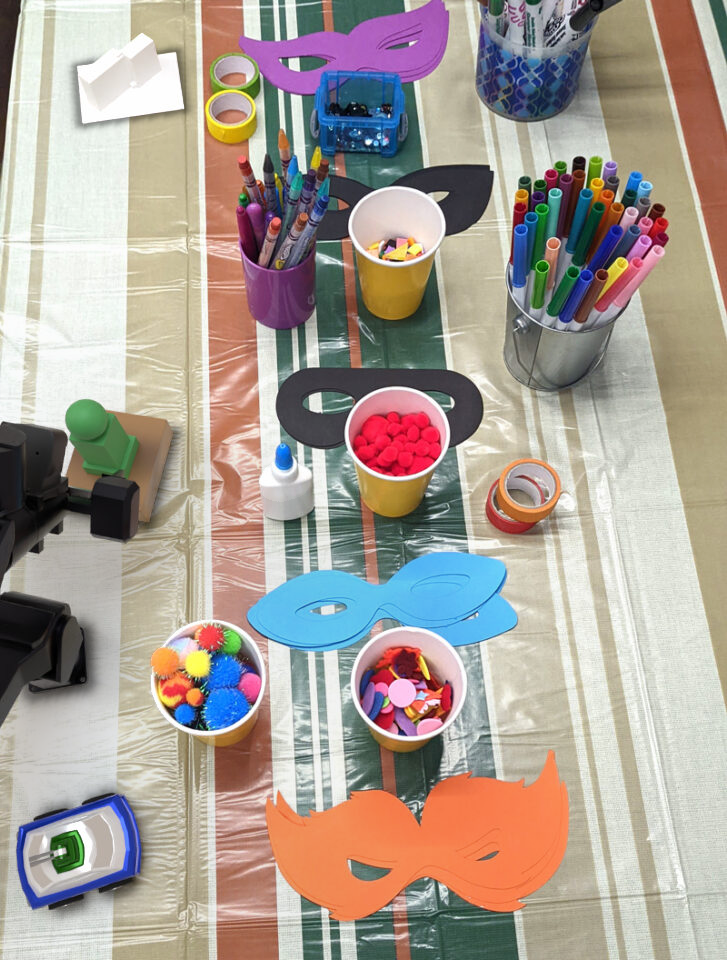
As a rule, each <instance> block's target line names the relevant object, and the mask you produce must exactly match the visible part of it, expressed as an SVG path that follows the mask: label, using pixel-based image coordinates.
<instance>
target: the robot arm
mask: <svg viewBox="0 0 727 960" xmlns="http://www.w3.org/2000/svg"><path fill="white" fill-rule="evenodd" d="M68 443H69V436H68V434H67V432H65V430H63V429H60V428H55V427H49V426H46V425H45V426H44V425H38V424H35V423H18V422H17V423H15V422H10V421H4V420H3V421H1V423H0V590H1V588H2V586H3V581H4V578H5V575H6V573H8V572H9V571H10V570H11V569H12V568H13V567H14V566H15V565H16V564H17V563H18V562H20V560H21V559H22V558H24V557H25V556H26V555H27V554H28V553H31V554H35V555H40V554H41V553H42V552H43V551H44V549H45V537H47V535H49V534H51V535H56V536H60V534H62V533H63V531H64V519H65V518H67V515H68V513H69V512H73V513H76V514H82V515H85V516H86V515H87V516H90V517H89V519H90V521H89V534H90V535H91V536H92V537H93V538H96V539H99V540H100V539H101V540H104V541H109V542H113V543H115V542H116V543H119V544H124V545H125V544H127V543H129V542H130V541H131V540H132V539H134V537H135V536H136V535H137V534H138V533H139V521H138V520H139V498H140V487H139V485H138V484H137V483H136V482H135V481H132V480H127V479H126V478H124V470H123V469H120V470H118V471H116V472H115V473H114V474H113V475H108V474H103V473H102V476H101V478H99V479H98V480H97V481H95V483H94V486H93V489H92V490H88V489H83V488H78V487H73V486H68V477H65V476H63V475H62V473H63V469H64V463H65V456H66V452H67V451H66V450H67V447H68ZM87 655H88V654H87V641H86V630H85V628H84V627H81V626H80V624H79V621H78V618H77V616H75V615H72V608H71V606H70V604H69V603H67V602H63V601H59V600H54V599H50V598H46V597H41V596H38V595H33V594H28V593H24V592H20V591H15V590H10V591H3V592H2V593H0V729H1V727H2V726H3V724H4V722H5V720H6V719H7V717H8V715H9V713H10V712H11V711H12V708H13V706H14V705H15V703H16V701H17V700H18V698H19V696H20V695H21V692H22V690H23V689H24V687H25V686H26V685H28V691H29V692H30V693H31V694H38V693H43V692H49V691H55V690H60V689H67V688H70V687H71V688H72V687H78V686H83V685H86V684H87V683H88V681H89V672H88V670H89V669H88V656H87ZM82 679H84V680H83V681H82ZM34 687H35V688H34ZM33 688H34V690H33Z"/></svg>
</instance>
